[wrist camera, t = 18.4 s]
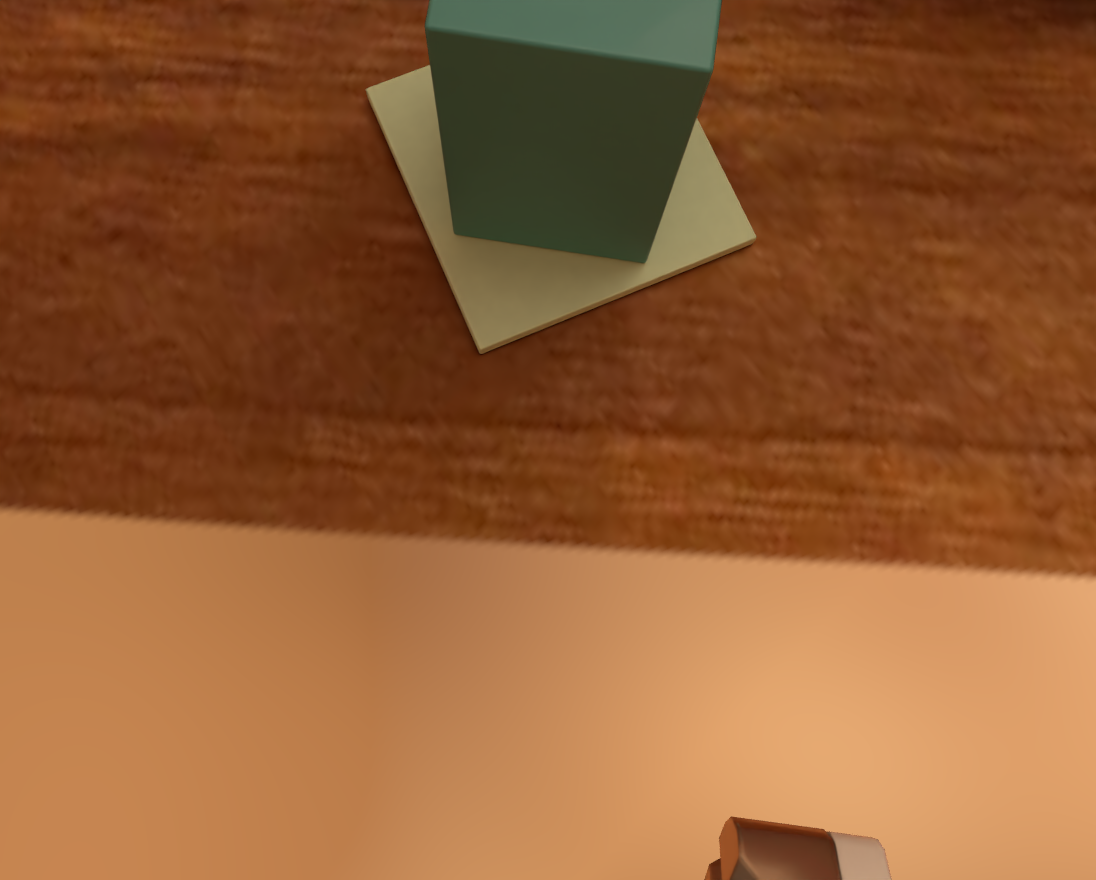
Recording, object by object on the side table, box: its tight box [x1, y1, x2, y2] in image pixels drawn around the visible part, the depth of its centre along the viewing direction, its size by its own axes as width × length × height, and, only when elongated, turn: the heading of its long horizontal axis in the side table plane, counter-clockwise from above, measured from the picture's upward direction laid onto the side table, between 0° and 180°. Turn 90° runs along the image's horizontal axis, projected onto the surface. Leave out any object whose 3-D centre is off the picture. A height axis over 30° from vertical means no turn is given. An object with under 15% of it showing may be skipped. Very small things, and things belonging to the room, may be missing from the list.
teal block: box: [425, 0, 722, 263], centre depth 20 cm, size 4×4×8 cm
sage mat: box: [366, 65, 756, 354], centre depth 24 cm, size 7×7×1 cm
